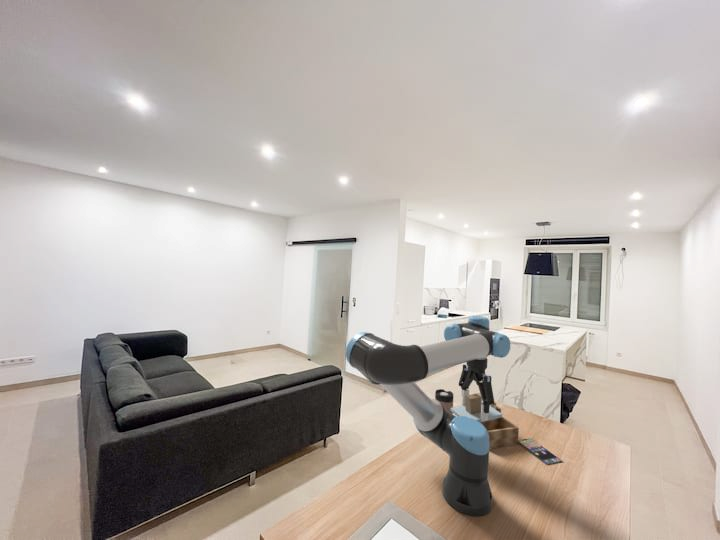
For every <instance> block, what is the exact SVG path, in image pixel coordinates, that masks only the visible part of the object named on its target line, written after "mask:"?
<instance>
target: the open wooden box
mask: <svg viewBox="0 0 720 540" xmlns="http://www.w3.org/2000/svg"><path fill="white" fill-rule="evenodd" d="M496 410H497V411H498V412H500V413H501V414H502V408H500V407H498V406H497V405H496ZM480 423H481V424H482V425H483V426H484V427H485V428H486V429H487V431H488V433H489V443H490V450H491V449H496V448H503V447H508V446H515V445H519V444H518V440H519V432H520V431H519V429H520V428H519V427H518V426H517V425H515V424H514V423H513V422H511V421H510V420H508V419H506V418H505V417H503V416H502V417H501V418H497V419H494V420H489V421H485V422H480Z"/></svg>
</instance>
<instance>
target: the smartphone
mask: <svg viewBox="0 0 720 540" xmlns="http://www.w3.org/2000/svg"><path fill="white" fill-rule="evenodd" d="M517 445H520V447H522V449H524V450H526V451H528V452H529V453H530V454H531V455H532V456H534V457H535V458H537V459H538V460H539V461H540V462H542V463H544V464H545V465H546V466H549V465H554V464H560V463H563V462H564V461H563V460H562V459H561V458H559V457H558V456H557V455H555V454H554V453H552V452H551V451H550V450H548V449H547V448H545V447H544V446H542V445H541V444H540V443H538V442H537V441H535V440H534V439H533V438H530V437H529V438H524V439H518V444H517Z"/></svg>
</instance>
